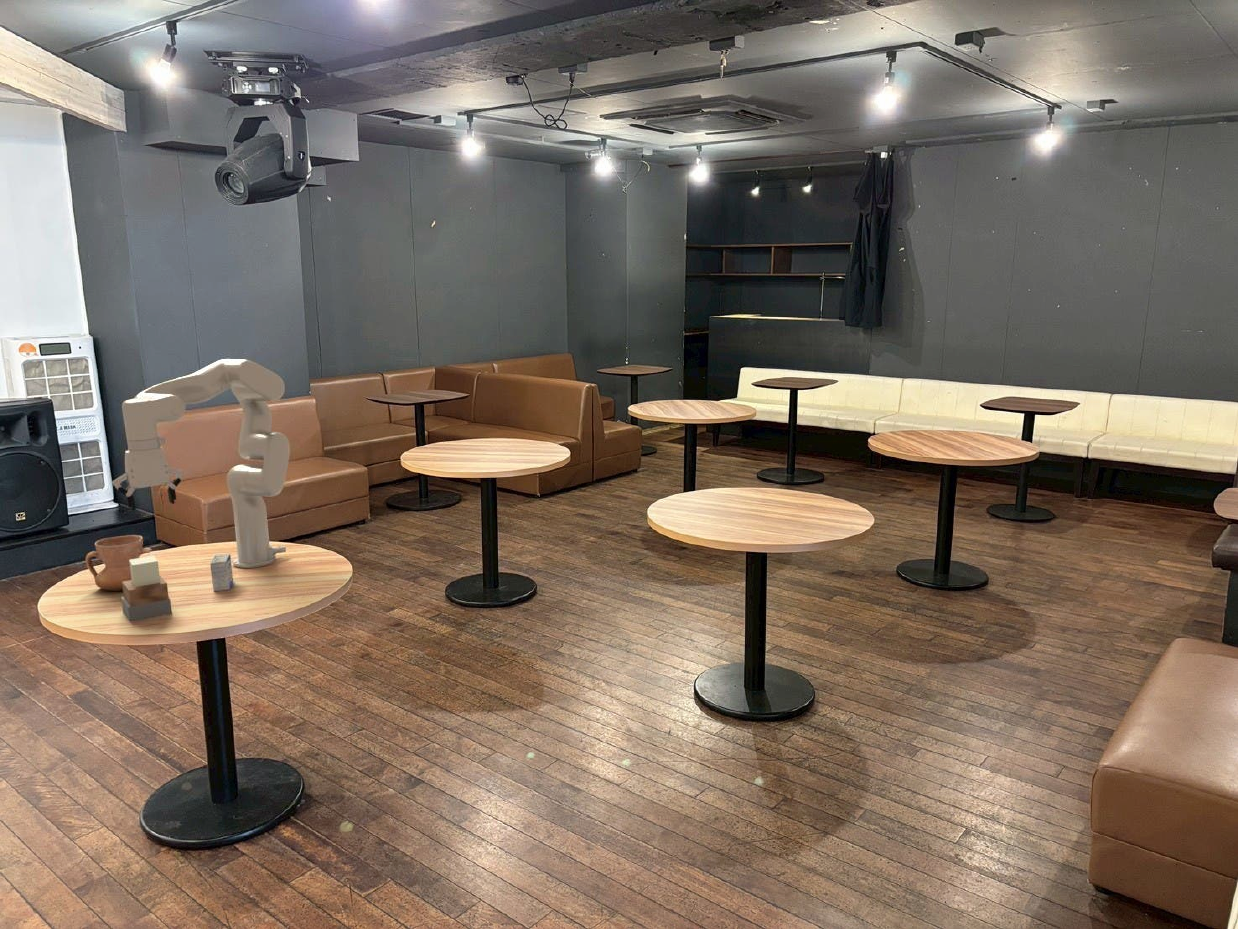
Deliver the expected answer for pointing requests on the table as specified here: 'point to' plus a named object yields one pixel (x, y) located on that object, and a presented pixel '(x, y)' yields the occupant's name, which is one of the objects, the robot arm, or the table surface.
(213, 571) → the medicine box
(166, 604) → the tower base block
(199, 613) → the table surface
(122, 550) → the ceramic jug
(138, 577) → the cream cube
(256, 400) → the robot arm
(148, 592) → the tower top block
